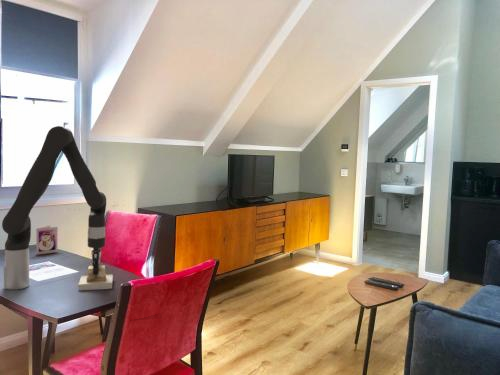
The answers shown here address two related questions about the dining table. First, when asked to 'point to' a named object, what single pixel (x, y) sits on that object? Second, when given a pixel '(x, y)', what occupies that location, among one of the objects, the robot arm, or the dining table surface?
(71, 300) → the dining table surface
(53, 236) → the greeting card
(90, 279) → the pallet
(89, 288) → the dock
